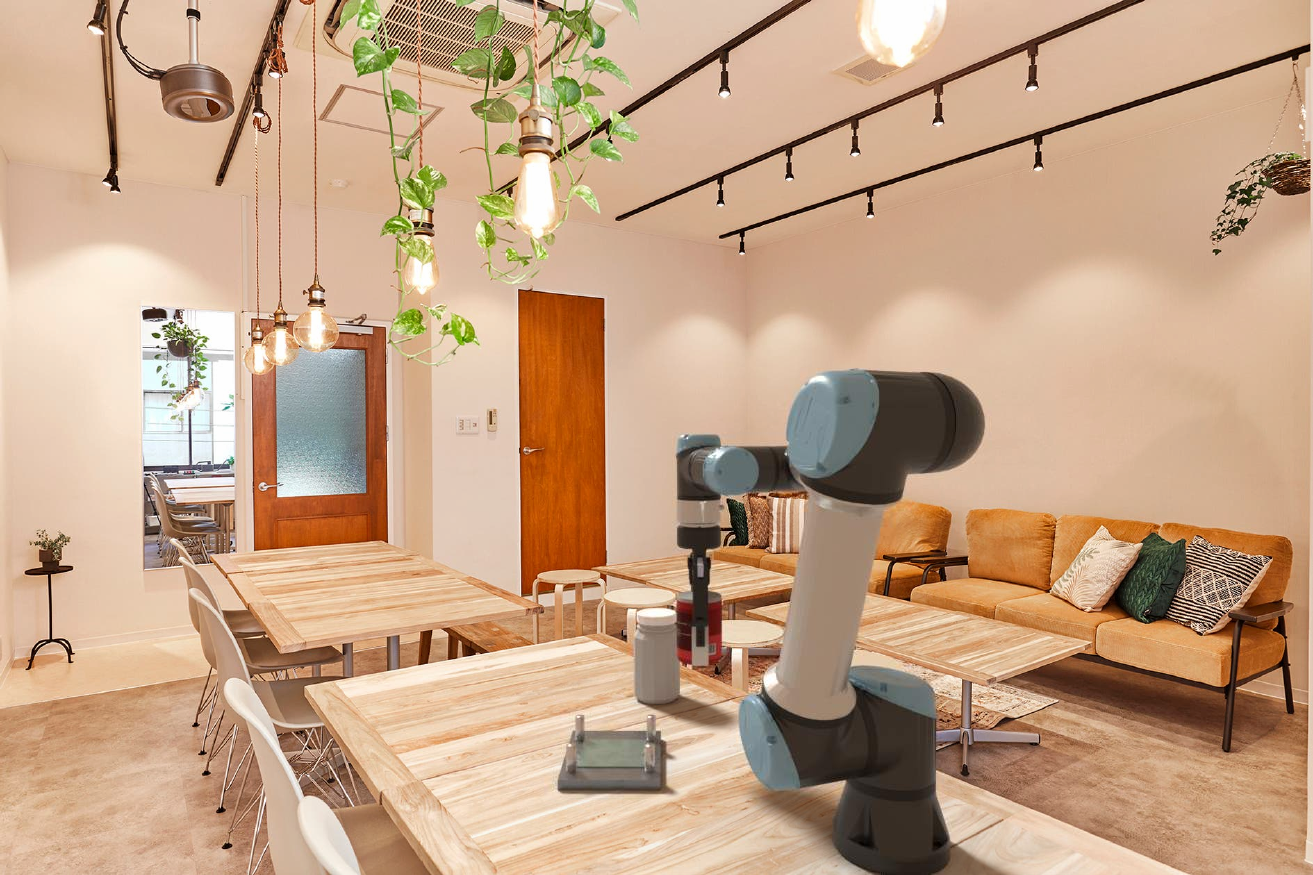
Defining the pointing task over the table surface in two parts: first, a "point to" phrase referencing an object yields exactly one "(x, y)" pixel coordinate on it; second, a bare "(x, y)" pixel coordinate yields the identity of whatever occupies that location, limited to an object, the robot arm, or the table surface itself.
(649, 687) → the jar
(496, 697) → the table surface
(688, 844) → the table surface
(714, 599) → the canned food
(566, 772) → the plate
